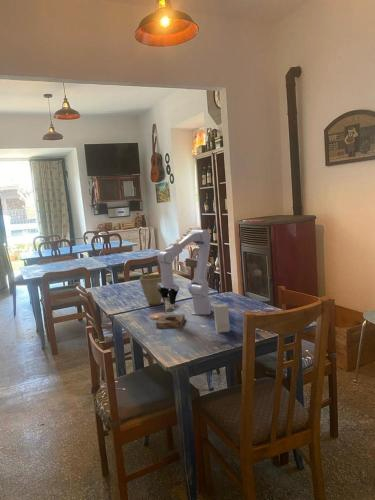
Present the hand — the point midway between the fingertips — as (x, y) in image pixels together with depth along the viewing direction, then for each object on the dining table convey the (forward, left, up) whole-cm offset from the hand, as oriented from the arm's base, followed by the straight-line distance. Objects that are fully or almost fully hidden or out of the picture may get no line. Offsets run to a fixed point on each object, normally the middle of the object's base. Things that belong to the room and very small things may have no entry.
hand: (169, 303), depth 186 cm
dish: (+9, -11, -10) cm, 18 cm away
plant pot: (+17, -38, -11) cm, 43 cm away
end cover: (0, 0, -4) cm, 4 cm away
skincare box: (-26, +12, -11) cm, 31 cm away
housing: (0, 0, -10) cm, 10 cm away
